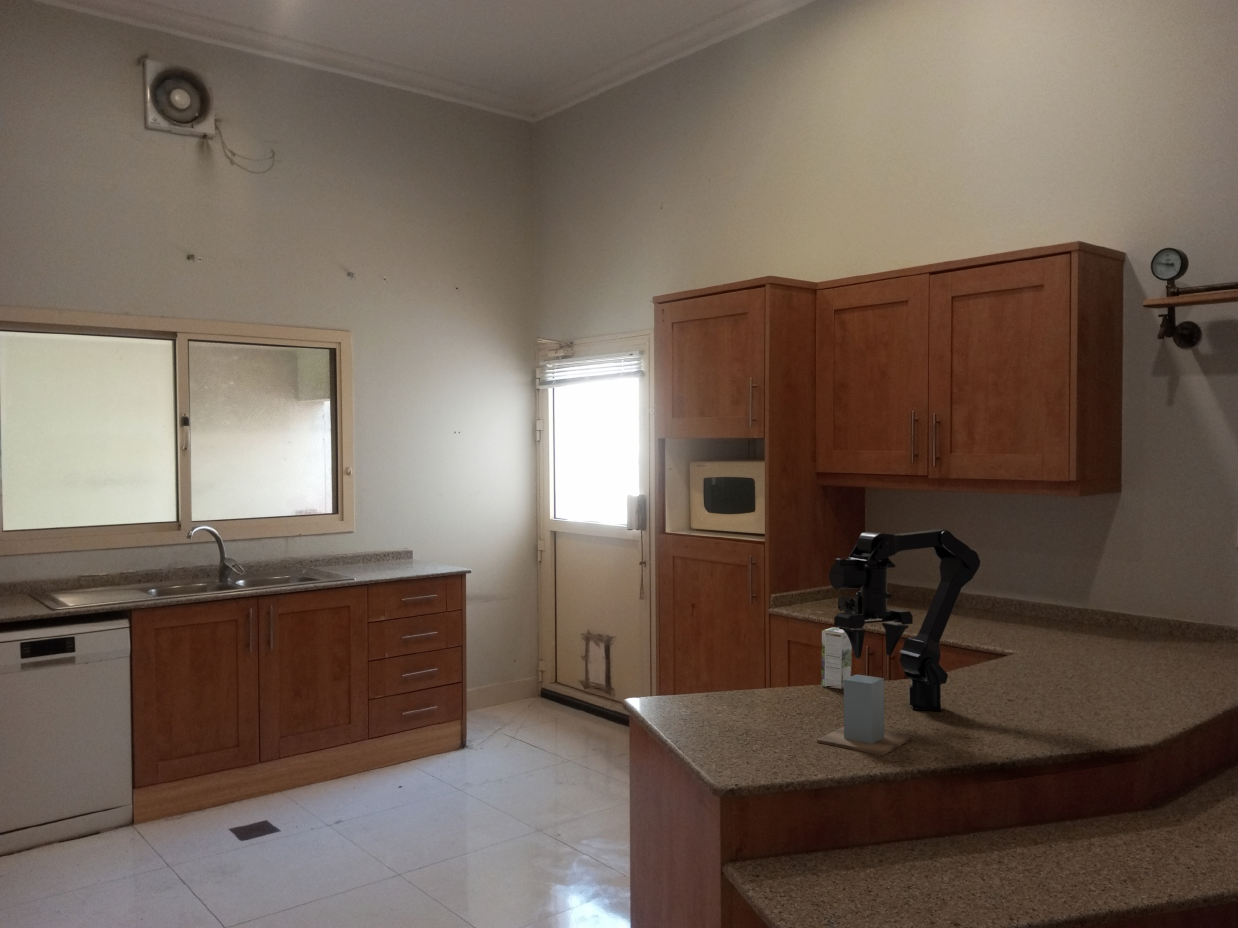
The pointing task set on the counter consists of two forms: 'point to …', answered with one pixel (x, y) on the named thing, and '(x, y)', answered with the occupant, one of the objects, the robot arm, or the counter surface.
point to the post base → (878, 747)
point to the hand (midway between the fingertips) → (873, 656)
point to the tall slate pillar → (864, 708)
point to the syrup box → (835, 657)
